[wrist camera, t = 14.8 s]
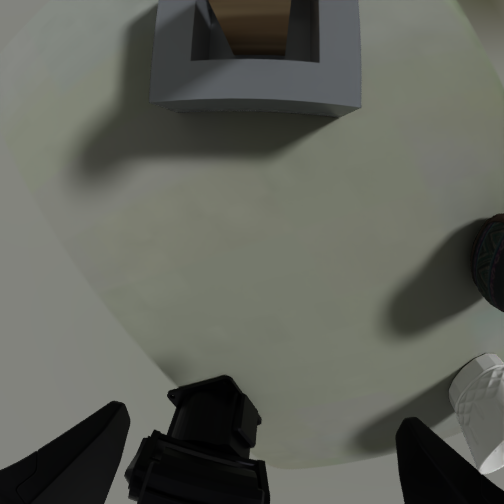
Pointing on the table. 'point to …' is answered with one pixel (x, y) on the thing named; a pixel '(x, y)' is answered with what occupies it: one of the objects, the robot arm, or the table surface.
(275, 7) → the tall wooden pillar block
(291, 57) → the grey square socket holder
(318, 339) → the table surface
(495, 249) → the mate gourd
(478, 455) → the white cup
